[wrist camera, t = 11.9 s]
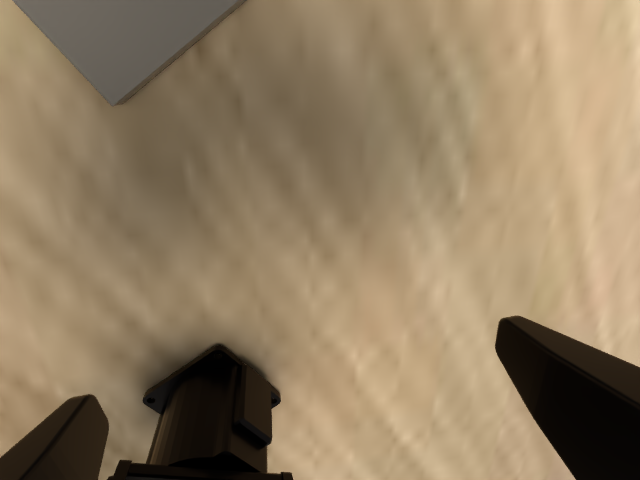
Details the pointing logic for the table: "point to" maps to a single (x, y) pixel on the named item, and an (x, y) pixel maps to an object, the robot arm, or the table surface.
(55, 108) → the table surface
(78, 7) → the post board
